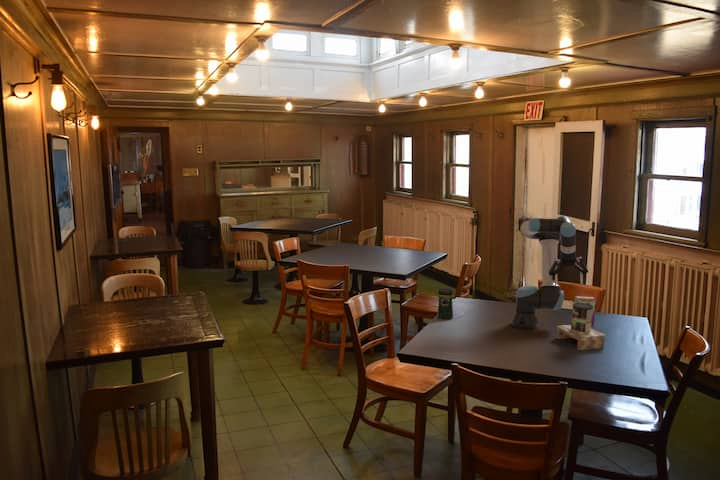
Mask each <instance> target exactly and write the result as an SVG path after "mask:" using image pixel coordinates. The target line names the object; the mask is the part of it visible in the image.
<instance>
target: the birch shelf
mask: <svg viewBox="0 0 720 480" xmlns="http://www.w3.org/2000/svg"><path fill="white" fill-rule="evenodd" d="M556 339H558V340H563V339H564V340H565V339H575V340H577V344H576V345H577V346H576V349H577V350H579V351H583V350H585V351H586V350H596V349H604V347H605V339H606V334H604V333H602V332H600V331H598V330H596V329H593V328H591V332H590V333H577V332H574V331H572V330H571V324H563V325H556Z"/></svg>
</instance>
